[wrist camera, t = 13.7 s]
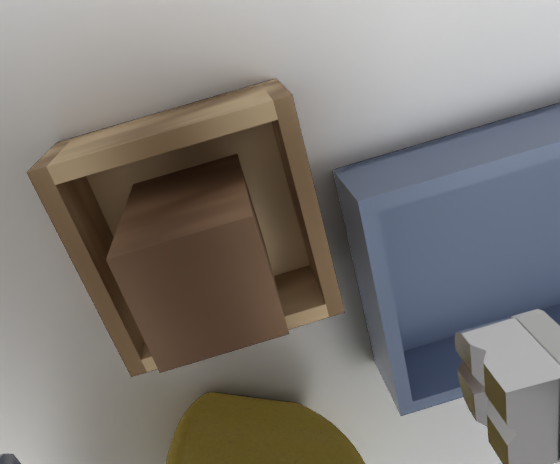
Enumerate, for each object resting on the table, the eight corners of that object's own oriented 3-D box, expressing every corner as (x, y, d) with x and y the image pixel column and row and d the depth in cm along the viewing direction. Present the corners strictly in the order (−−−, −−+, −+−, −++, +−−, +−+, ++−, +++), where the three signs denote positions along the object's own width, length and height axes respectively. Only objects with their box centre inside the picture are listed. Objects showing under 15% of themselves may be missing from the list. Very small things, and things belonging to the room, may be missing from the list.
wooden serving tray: (276, 78, 18) (292, 94, 15) (323, 267, 22) (344, 312, 19) (56, 142, 18) (26, 172, 15) (141, 322, 22) (131, 377, 18)
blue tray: (692, 63, 20) (783, 74, 17) (669, 272, 25) (737, 312, 22) (332, 170, 20) (357, 201, 17) (375, 362, 24) (401, 415, 21)
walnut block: (237, 153, 19) (252, 216, 13) (265, 245, 20) (289, 334, 15) (133, 184, 18) (106, 259, 13) (170, 274, 20) (159, 373, 15)
